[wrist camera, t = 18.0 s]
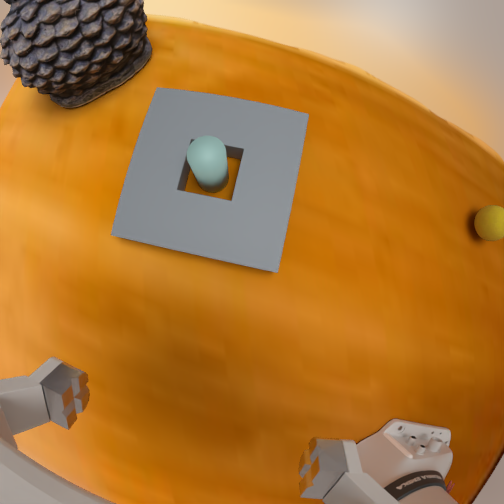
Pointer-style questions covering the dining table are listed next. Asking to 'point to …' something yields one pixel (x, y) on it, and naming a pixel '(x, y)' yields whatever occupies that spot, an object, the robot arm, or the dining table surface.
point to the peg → (209, 163)
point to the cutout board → (205, 207)
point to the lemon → (490, 223)
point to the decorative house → (75, 46)
